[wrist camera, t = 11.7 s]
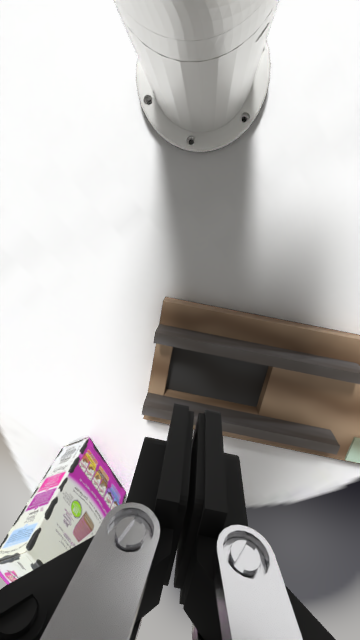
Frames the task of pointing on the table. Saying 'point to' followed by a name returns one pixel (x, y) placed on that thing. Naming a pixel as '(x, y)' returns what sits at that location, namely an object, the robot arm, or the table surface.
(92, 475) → the candy bar box
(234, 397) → the runway board
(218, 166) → the table surface
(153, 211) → the table surface
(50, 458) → the table surface
